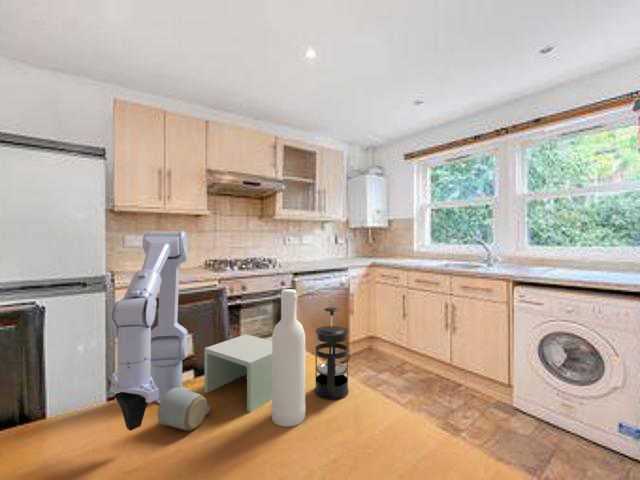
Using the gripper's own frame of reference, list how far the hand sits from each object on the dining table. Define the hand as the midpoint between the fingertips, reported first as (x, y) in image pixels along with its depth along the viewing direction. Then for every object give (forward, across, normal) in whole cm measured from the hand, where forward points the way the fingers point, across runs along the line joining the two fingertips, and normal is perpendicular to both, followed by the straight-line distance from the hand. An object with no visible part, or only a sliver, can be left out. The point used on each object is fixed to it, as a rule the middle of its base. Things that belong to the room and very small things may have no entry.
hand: (134, 427), depth 61 cm
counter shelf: (+5, 0, +30) cm, 30 cm away
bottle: (+5, +18, +26) cm, 32 cm away
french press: (+5, +20, +42) cm, 47 cm away
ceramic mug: (+5, 0, +12) cm, 13 cm away
